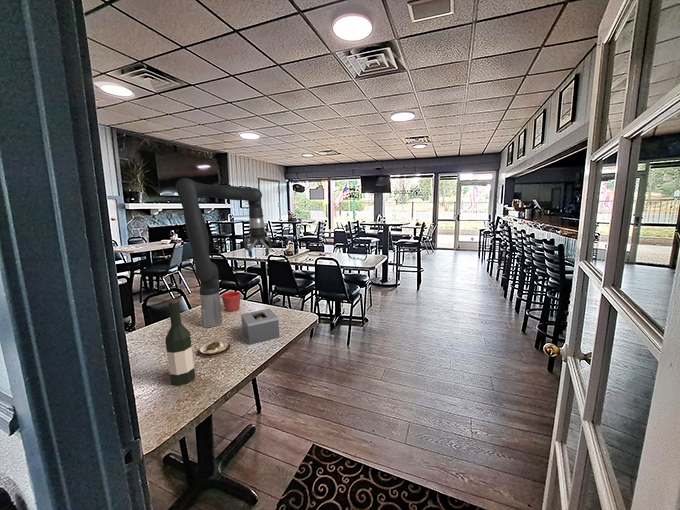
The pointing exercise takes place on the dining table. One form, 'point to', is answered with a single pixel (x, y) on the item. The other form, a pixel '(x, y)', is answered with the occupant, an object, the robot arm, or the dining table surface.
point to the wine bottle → (179, 348)
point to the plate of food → (214, 349)
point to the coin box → (260, 326)
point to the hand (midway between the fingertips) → (259, 256)
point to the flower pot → (231, 301)
